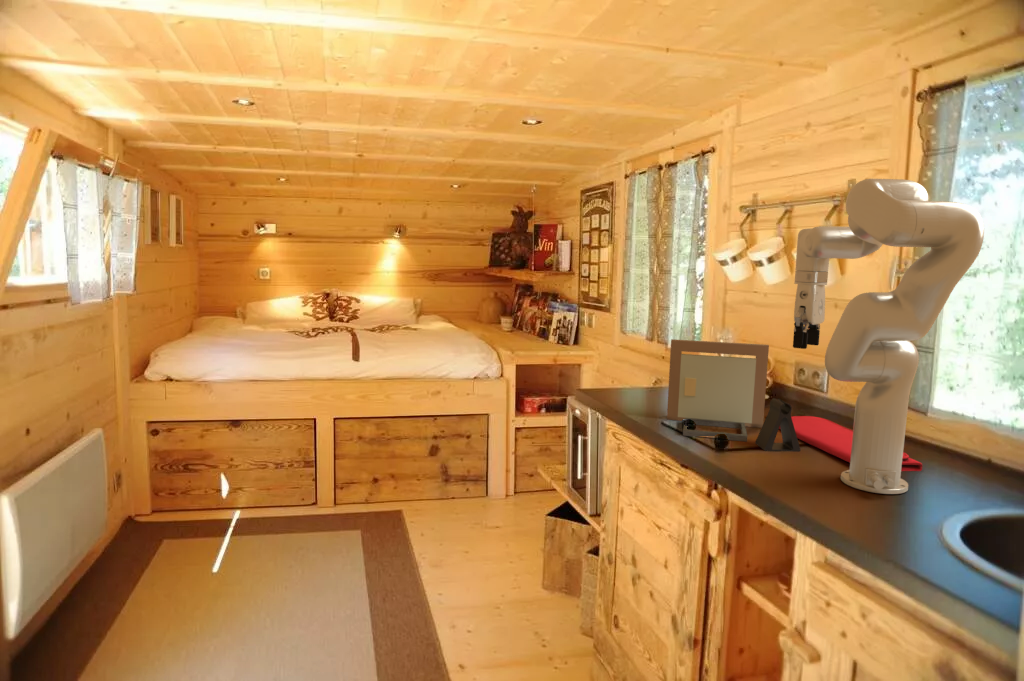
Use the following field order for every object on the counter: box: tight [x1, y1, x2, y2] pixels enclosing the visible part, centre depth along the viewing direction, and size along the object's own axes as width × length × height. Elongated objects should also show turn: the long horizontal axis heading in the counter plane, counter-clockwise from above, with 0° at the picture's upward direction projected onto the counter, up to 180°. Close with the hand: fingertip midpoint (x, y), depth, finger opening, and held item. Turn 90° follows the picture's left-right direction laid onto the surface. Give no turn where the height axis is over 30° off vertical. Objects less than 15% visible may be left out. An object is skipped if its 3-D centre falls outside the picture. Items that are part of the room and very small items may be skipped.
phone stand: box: [754, 397, 801, 452], centre depth 168 cm, size 9×6×12 cm, turn 91°
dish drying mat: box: [778, 415, 923, 472], centre depth 172 cm, size 16×41×4 cm, turn 7°
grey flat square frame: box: [682, 418, 748, 442], centre depth 182 cm, size 14×16×2 cm
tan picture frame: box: [666, 338, 770, 429], centre depth 191 cm, size 4×26×23 cm, turn 74°
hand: (805, 346), depth 171 cm, fingers open, 9 cm apart
